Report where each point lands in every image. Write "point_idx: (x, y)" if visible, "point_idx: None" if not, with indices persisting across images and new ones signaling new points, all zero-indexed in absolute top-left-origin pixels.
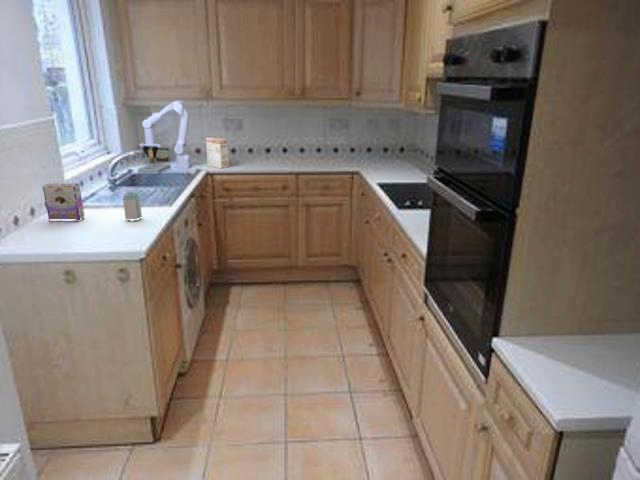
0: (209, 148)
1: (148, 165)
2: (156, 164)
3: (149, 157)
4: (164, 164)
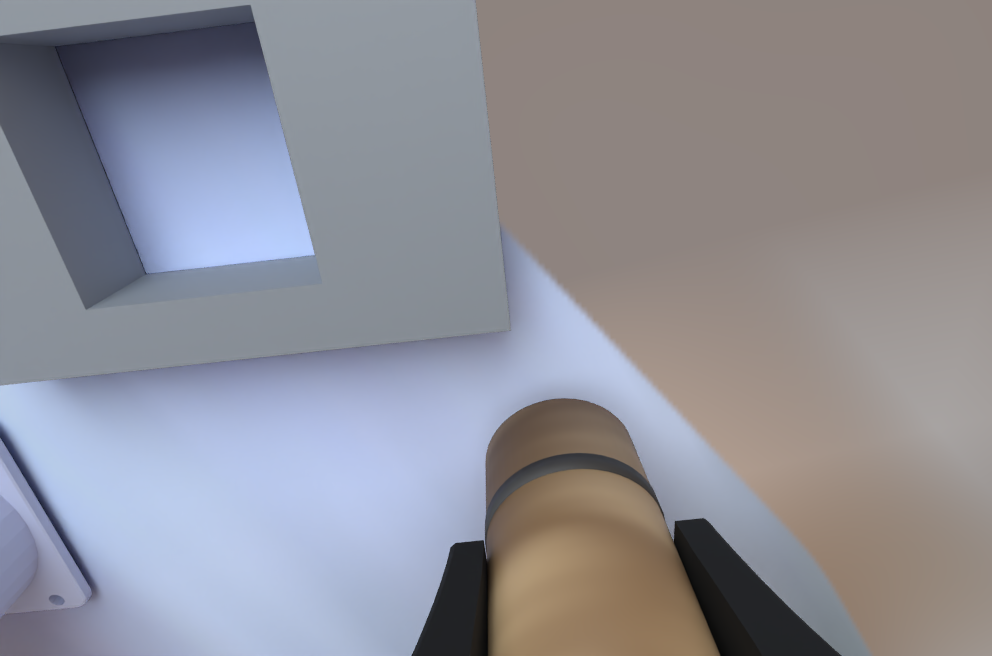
0: None
1: (422, 83)
2: (303, 304)
3: (609, 506)
4: (105, 369)
